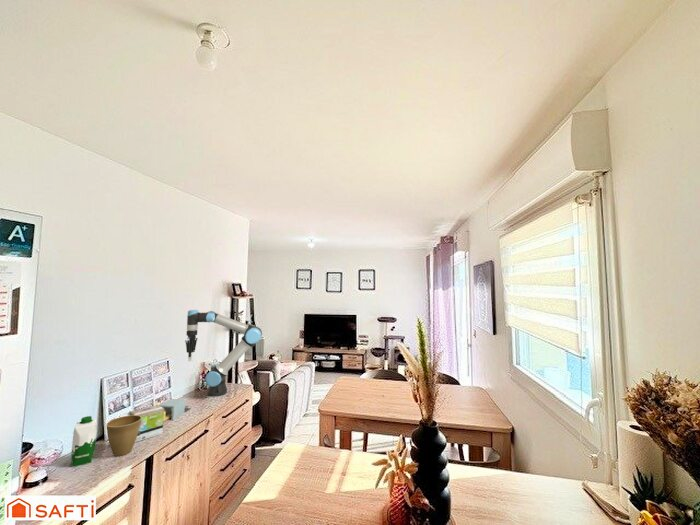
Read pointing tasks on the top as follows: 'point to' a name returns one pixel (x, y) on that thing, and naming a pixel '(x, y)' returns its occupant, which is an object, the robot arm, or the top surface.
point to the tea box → (149, 421)
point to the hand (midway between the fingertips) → (190, 361)
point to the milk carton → (84, 441)
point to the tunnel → (175, 407)
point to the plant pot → (123, 433)
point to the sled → (167, 416)
